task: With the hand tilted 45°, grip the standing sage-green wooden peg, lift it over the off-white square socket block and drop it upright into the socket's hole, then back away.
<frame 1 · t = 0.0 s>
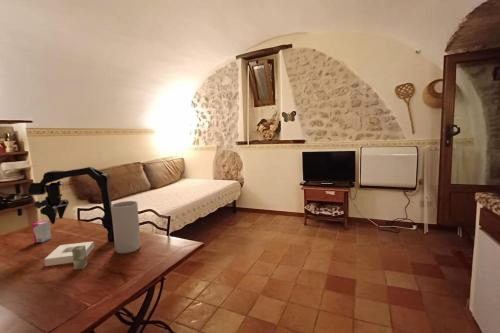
hand: (57, 221, 141), 15 cm above the table, tool pointing down, fingers open, 9 cm apart
cylinder vase: (128, 249, 137), on the table
socket block: (71, 256, 130), on the table
peg: (80, 266, 119), on the table
supplement box: (43, 241, 150), on the table
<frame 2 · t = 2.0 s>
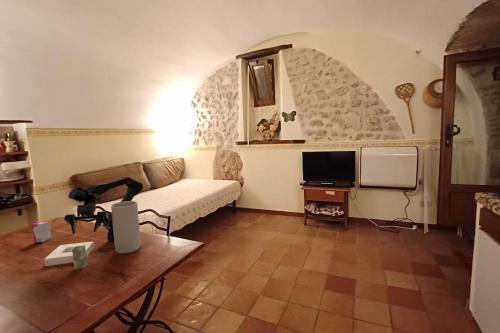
hand: (83, 233, 125), 13 cm above the table, tool tilted 45°, fingers open, 9 cm apart
nothing on the table moved.
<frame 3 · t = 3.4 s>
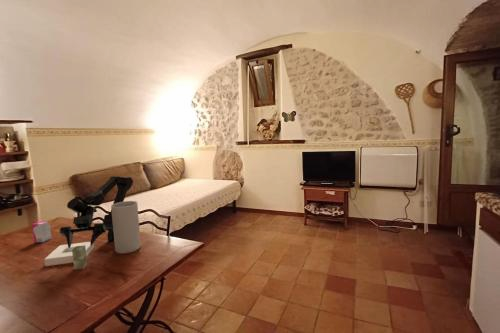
hand: (80, 246, 120), 9 cm above the table, tool tilted 45°, fingers open, 9 cm apart
nothing on the table moved.
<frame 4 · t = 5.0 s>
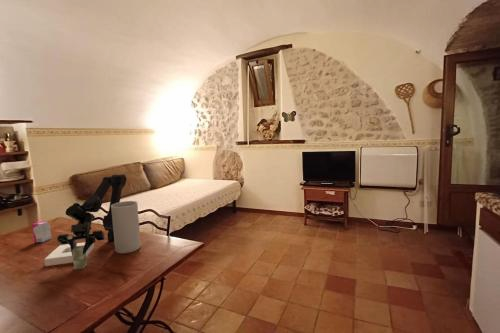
hand: (78, 254, 117), 7 cm above the table, tool tilted 45°, fingers closed on peg, 4 cm apart
peg: (80, 266, 119), on the table, touching gripper
everything else where it was.
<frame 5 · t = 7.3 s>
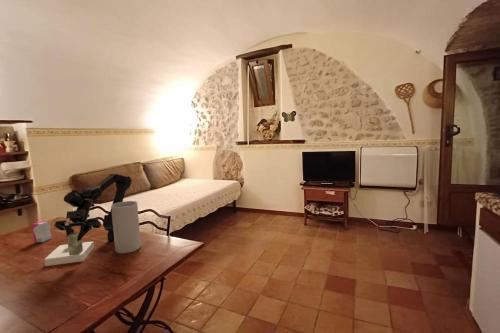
hand: (72, 241, 118), 13 cm above the table, tool tilted 45°, fingers closed on peg, 4 cm apart
peg: (76, 253, 120), point 6 cm above the table, touching gripper
everything else where it was.
when the fingers open (8 cm above the table, at t = 10.0 s): peg stays where it is, resting in socket block.
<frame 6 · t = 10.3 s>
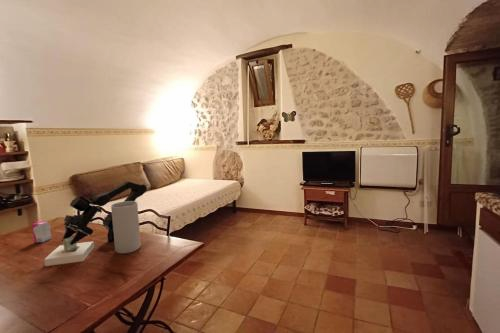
hand: (66, 243, 128), 8 cm above the table, tool tilted 45°, fingers open, 8 cm apart
peg: (71, 256, 130), resting in socket block
everything else where it was.
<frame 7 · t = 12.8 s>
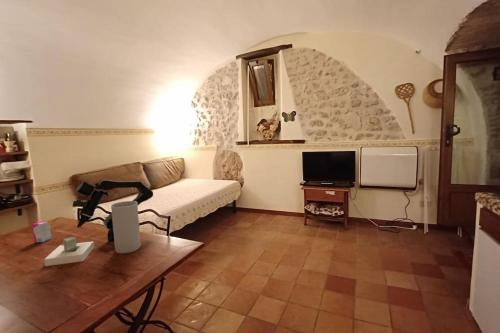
hand: (78, 226, 135), 13 cm above the table, tool tilted 35°, fingers open, 9 cm apart
nothing on the table moved.
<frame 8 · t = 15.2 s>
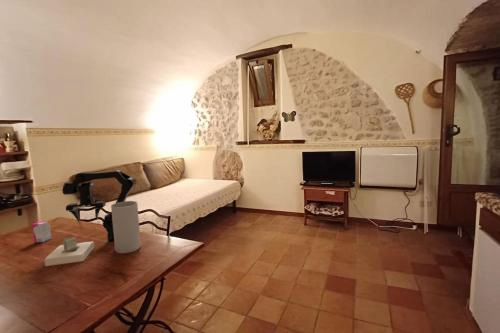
hand: (87, 220, 146), 13 cm above the table, tool pointing down, fingers open, 9 cm apart
nothing on the table moved.
at the end: peg 0.1 cm off-centre on the socket block, point 0.0 cm above the socket block's base; peg tilted 0°; the gripper is holding nothing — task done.
